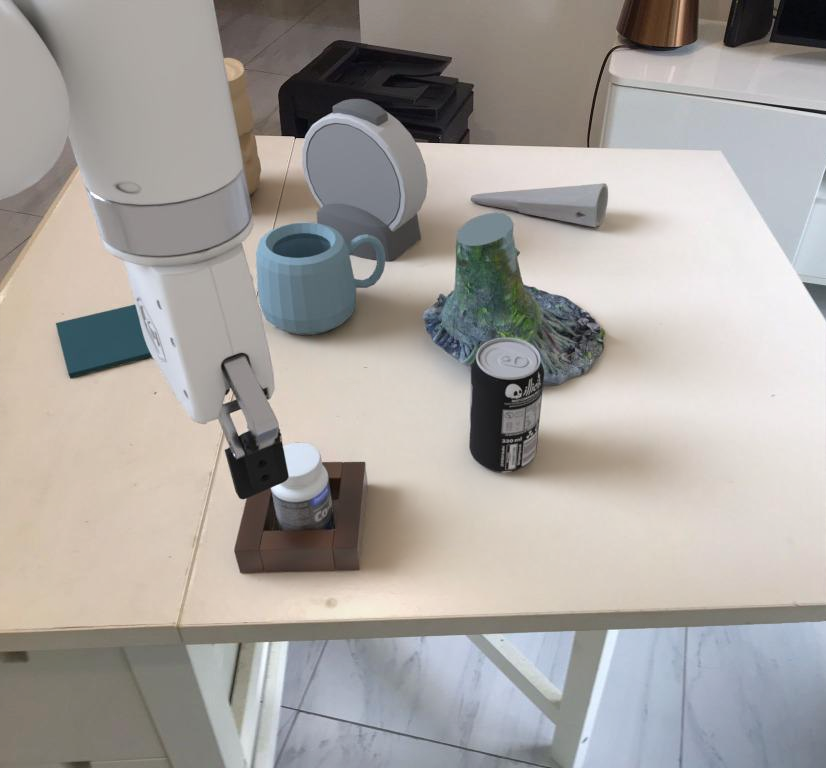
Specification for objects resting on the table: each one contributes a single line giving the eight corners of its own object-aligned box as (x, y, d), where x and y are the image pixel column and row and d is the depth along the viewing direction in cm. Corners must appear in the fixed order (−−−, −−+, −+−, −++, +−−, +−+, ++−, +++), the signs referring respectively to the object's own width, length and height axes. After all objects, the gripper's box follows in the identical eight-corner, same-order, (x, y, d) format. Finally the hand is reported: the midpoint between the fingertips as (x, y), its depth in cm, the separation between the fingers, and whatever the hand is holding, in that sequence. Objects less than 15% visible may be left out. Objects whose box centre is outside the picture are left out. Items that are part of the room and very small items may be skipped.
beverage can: (478, 424, 82) (481, 329, 74) (541, 435, 81) (551, 340, 73) (461, 469, 77) (463, 373, 69) (529, 482, 76) (538, 386, 68)
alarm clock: (439, 236, 110) (438, 105, 98) (398, 271, 103) (391, 133, 91) (343, 205, 115) (331, 77, 103) (296, 236, 108) (278, 102, 96)
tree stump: (620, 394, 87) (601, 261, 75) (440, 428, 88) (393, 303, 76) (594, 292, 100) (575, 164, 88) (438, 323, 102) (398, 202, 89)
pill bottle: (329, 548, 69) (319, 481, 63) (274, 546, 69) (259, 479, 63) (339, 506, 72) (330, 439, 67) (286, 504, 72) (273, 437, 67)
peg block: (239, 573, 66) (233, 550, 65) (260, 485, 74) (254, 462, 72) (359, 570, 67) (357, 547, 65) (367, 483, 75) (365, 461, 73)
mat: (70, 378, 84) (68, 373, 83) (57, 327, 90) (55, 322, 90) (169, 352, 88) (168, 347, 87) (150, 305, 94) (149, 300, 94)
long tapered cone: (487, 194, 123) (608, 210, 117) (471, 217, 119) (595, 234, 113) (483, 161, 119) (608, 175, 113) (466, 183, 115) (595, 199, 109)
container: (167, 185, 117) (136, 58, 105) (255, 172, 121) (235, 49, 110) (179, 225, 108) (147, 92, 97) (273, 210, 113) (253, 82, 101)
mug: (373, 275, 102) (368, 203, 95) (402, 322, 94) (399, 248, 88) (253, 299, 96) (239, 224, 90) (274, 351, 89) (260, 275, 82)
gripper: (54, 156, 45) (134, 388, 56) (152, 309, 34) (226, 556, 45) (188, 128, 48) (239, 352, 59) (314, 259, 38) (346, 500, 49)
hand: (233, 440), depth 52 cm, fingers open, 9 cm apart
